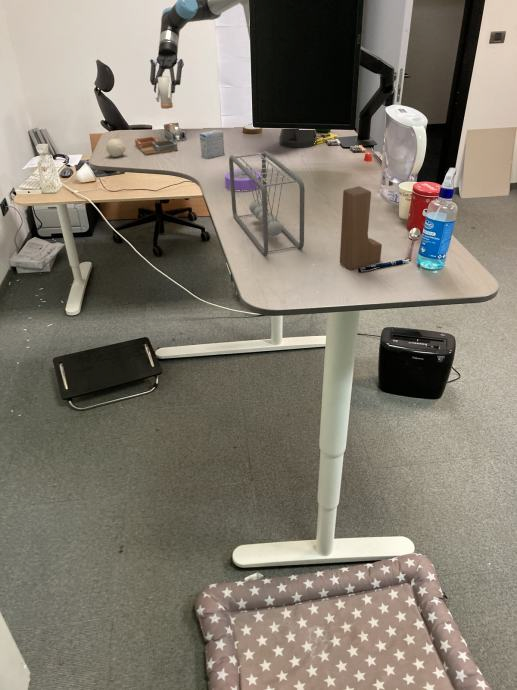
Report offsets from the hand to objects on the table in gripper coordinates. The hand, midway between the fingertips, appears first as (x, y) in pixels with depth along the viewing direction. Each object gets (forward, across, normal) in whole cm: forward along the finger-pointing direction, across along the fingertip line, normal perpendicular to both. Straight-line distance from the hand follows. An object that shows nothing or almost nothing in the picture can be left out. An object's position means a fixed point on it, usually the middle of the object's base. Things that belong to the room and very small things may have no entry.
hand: (163, 99), depth 215 cm
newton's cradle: (+75, -49, +52) cm, 104 cm away
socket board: (+16, +4, -8) cm, 19 cm away
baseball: (+24, +16, 0) cm, 29 cm away
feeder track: (+6, -1, -19) cm, 20 cm away
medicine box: (+24, -22, 0) cm, 33 cm away
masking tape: (+48, -38, +25) cm, 66 cm away
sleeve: (0, 0, -5) cm, 5 cm away
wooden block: (+87, -74, +65) cm, 131 cm away
